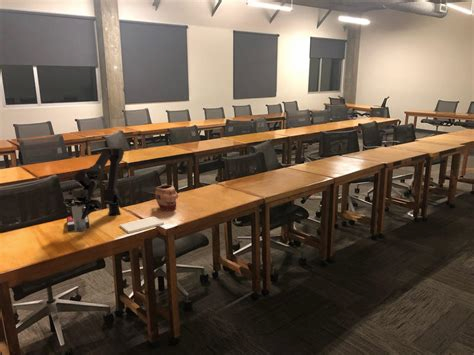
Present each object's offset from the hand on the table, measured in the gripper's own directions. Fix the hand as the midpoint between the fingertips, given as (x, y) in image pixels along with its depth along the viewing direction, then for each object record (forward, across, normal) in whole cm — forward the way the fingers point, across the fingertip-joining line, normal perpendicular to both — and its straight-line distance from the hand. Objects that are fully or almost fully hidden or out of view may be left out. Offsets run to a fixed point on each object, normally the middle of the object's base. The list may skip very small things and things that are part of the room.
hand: (77, 218), depth 189 cm
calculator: (-3, -10, +17) cm, 20 cm away
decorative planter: (-27, +26, +42) cm, 56 cm away
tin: (+4, 0, +6) cm, 7 cm away
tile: (-7, +24, +21) cm, 33 cm away
